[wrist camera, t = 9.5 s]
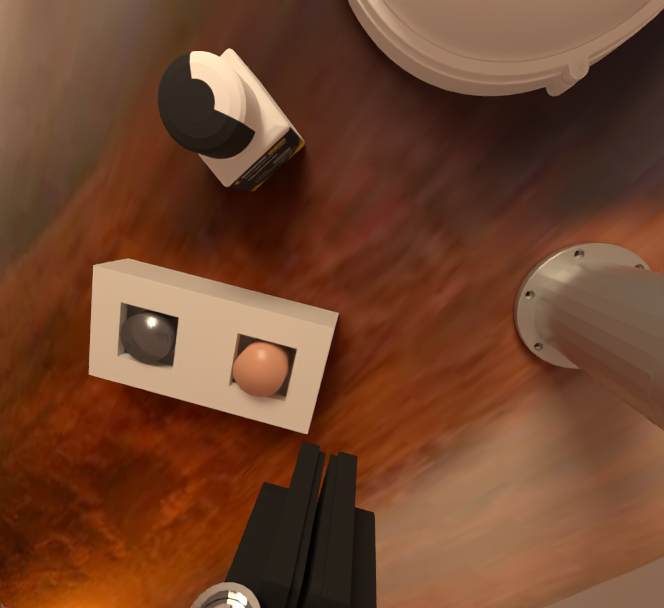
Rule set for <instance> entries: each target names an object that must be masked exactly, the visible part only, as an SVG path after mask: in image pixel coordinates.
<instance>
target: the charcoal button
mask: <svg viewBox="0 0 664 608" xmlns="http://www.w3.org/2000/svg"><path fill="white" fill-rule="evenodd" d="M178 320H179V317H175V316H171V315H167V314H164V313H160V312H156V311H152V310H149V309H148V310H146V311H143V312H141V313H139V314H137V315H134V316H132V317H130V318H128V319H127V320H126V321H125V322H124V323H123V325H122V327H121V331H120V338H121V342H122V345H123V347H124V348H125V350H126V351H127V352H128V354H130V355H131V356H132V357H133V358H135V359H137V360H139V361H142V362H147V363H150V362H155V361H158V360H160V359H161V358H163V357H164V356H165V355H167V354H168V353H170V352H171V351H172V350H174V349H175V346H176V338H177V329H178Z"/></svg>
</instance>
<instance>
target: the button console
mask: <svg viewBox="0 0 664 608" xmlns="http://www.w3.org/2000/svg"><path fill="white" fill-rule="evenodd" d="M148 309H149V310H152V311H156V312H160V313H164V314H167V315H171V316H175V317H179V320H178V329H177V338H176V346H175V349H174V350H172V351H171V352H170V353H168V354H167V355H165V356H164V357H163V358H161V359H160V360H158V361H155V362H150V363H147V362H142V361H139V360H137V359H135V358H133V357H132V356H131V355H130V354H128V352H127V351H126V350H125V348H124V347H123V345H122V342H121V338H120V331H121V327H122V325H123V323H124V322H125V321H126V320H127V319H128V318H130V317H132V316H134V315H137V314H139V313H141V312H143V311H146V310H148ZM338 315H339V313H336V312H333V311H329V310H325V309H321V308H317V307H313V306H310V305H306V304H302V303H298V302H294V301H290V300H286V299H283V298H279V297H275V296H271V295H267V294H263V293H259V292H256V291H252V290H248V289H244V288H240V287H236V286H232V285H229V284H225V283H221V282H217V281H213V280H209V279H205V278H202V277H198V276H194V275H190V274H186V273H182V272H179V271H175V270H171V269H167V268H163V267H159V266H155V265H152V264H148V263H144V262H140V261H136V260H132V259H123V260H118V261H113V262H108V263H102V264H97V265H93V286H92V311H91V335H90V360H89V375H93V376H96V377H100V378H104V379H107V380H111V381H115V382H118V383H122V384H125V385H129V386H133V387H136V388H140V389H144V390H147V391H151V392H155V393H158V394H162V395H166V396H169V397H173V398H177V399H180V400H184V401H188V402H191V403H195V404H198V405H202V406H206V407H209V408H213V409H217V410H220V411H224V412H228V413H231V414H235V415H239V416H242V417H246V418H250V419H253V420H257V421H260V422H264V423H268V424H271V425H275V426H279V427H282V428H286V429H290V430H293V431H297V432H301V433H304V434H308V431H309V427H310V423H311V420H312V416H313V413H314V409H315V405H316V401H317V397H318V393H319V389H320V386H321V382H322V378H323V374H324V370H325V366H326V362H327V358H328V354H329V350H330V346H331V342H332V339H333V335H334V331H335V327H336V323H337V319H338ZM255 338H258V339H262V340H266V341H269V342H273V343H277V344H281V345H285V346H288V347H290V349H291V351H292V356H293V361H292V365H291V367H290V369H289V371H288V373H287V375H286V377H285V379H284V381H283V383H282V385H281V387H280V388H279V390H278V391H277V392H275V393H274V394H272V395H270V396H266V397H256V396H252V395H250V394H247V393H246V392H244V391H243V390H242V389H241V388H240V387H239V386H238V385H237V383H236V381H235V379H234V376H233V366H234V363H235V361H236V359H237V358H238V356H239V355H240V354H241V353H242V352H243V351H244V350H245V349H246V347H247V346H248V345H249V344H250V343H251V342H252V341H253V340H254V339H255Z"/></svg>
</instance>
